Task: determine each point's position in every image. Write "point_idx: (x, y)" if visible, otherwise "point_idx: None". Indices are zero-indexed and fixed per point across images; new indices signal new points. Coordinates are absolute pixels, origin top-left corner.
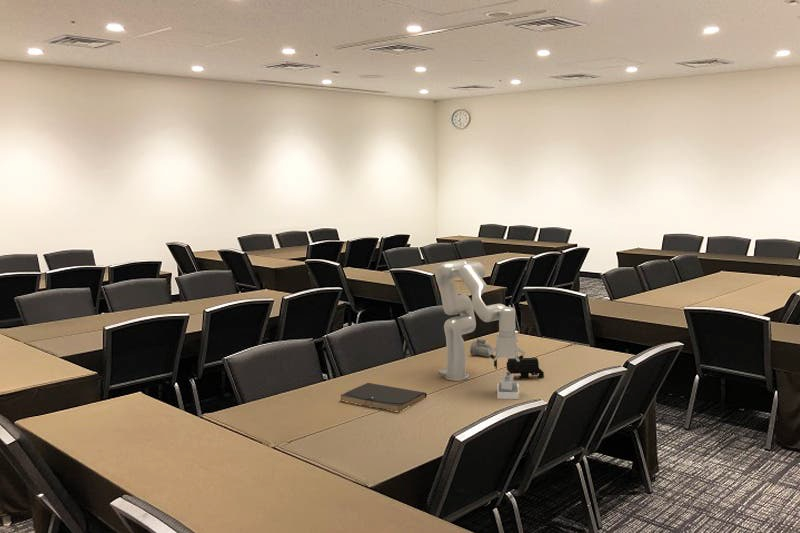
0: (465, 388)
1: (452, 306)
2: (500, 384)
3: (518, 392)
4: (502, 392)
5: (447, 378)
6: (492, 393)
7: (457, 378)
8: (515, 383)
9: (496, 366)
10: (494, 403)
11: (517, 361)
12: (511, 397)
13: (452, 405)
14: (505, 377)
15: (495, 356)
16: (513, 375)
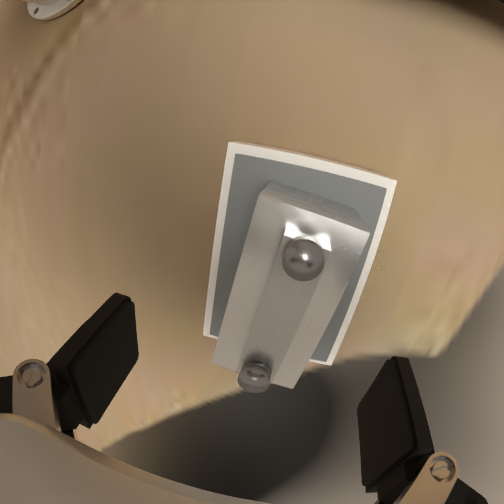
0: (71, 119)
1: None
2: (242, 199)
3: (330, 359)
4: None
5: (30, 13)
6: (195, 221)
7: (55, 7)
8: (371, 198)
9: (121, 378)
10: (195, 361)
11: (383, 488)
12: None
13: (57, 327)
14: (240, 379)
15: (29, 411)
16: (360, 249)
